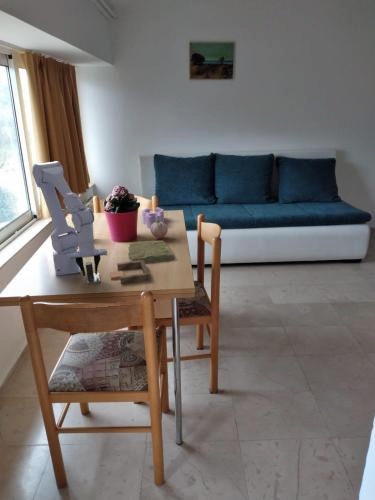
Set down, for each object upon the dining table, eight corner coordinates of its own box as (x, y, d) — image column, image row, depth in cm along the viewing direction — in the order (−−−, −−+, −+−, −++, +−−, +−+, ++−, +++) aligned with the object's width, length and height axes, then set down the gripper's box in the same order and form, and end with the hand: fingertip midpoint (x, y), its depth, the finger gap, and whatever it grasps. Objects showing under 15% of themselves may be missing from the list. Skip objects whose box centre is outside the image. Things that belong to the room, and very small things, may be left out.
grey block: (88, 284, 140) (85, 267, 138) (87, 276, 148) (85, 259, 145) (100, 283, 141) (98, 266, 139) (99, 274, 149) (97, 258, 146)
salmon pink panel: (111, 281, 144) (110, 277, 143) (110, 275, 148) (109, 272, 148) (124, 279, 145) (123, 275, 145) (122, 274, 150) (122, 270, 149)
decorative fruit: (170, 240, 185) (170, 221, 182) (155, 243, 182) (154, 223, 179) (163, 235, 193) (162, 216, 190) (149, 237, 190) (147, 218, 186)
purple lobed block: (165, 227, 206) (164, 215, 203) (143, 229, 204) (142, 217, 202) (163, 218, 224) (162, 206, 222) (142, 219, 223) (141, 208, 220)
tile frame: (121, 284, 140) (120, 278, 139) (117, 268, 154) (117, 263, 153) (150, 280, 143) (149, 274, 142) (144, 265, 156) (143, 260, 155)
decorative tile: (164, 245, 180) (163, 238, 179) (173, 260, 162) (173, 253, 160) (125, 249, 175) (124, 242, 174) (130, 266, 157) (130, 258, 156)
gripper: (65, 246, 133) (70, 281, 138) (106, 242, 137) (109, 275, 141) (66, 240, 140) (71, 273, 144) (105, 236, 143) (108, 268, 148)
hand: (90, 274), depth 143 cm, fingers open, 4 cm apart
